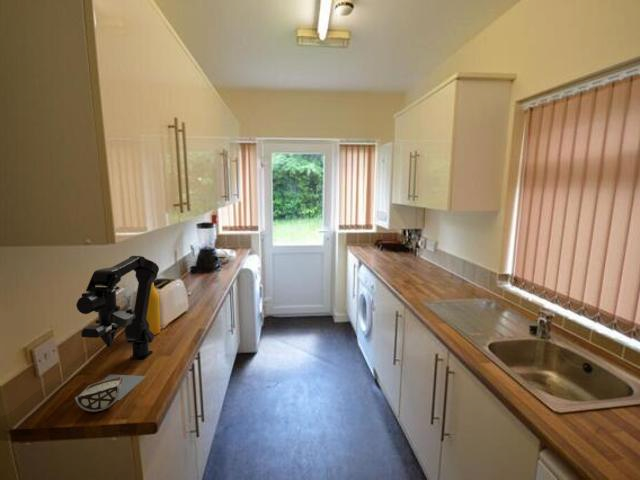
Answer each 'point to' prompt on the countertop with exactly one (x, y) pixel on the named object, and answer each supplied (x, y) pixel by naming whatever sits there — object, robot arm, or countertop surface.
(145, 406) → the countertop surface
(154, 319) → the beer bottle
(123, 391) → the slate mat
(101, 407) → the food container
